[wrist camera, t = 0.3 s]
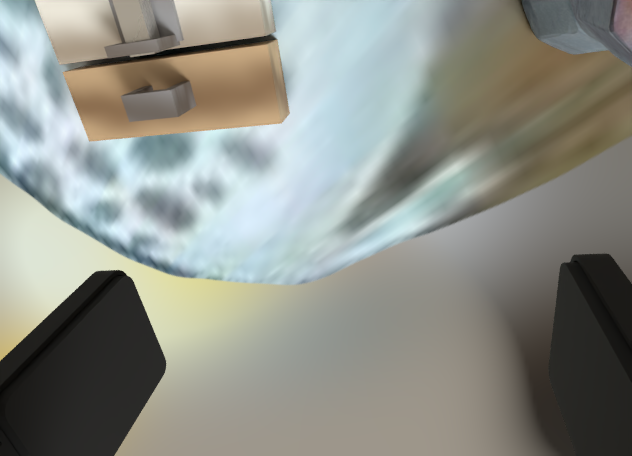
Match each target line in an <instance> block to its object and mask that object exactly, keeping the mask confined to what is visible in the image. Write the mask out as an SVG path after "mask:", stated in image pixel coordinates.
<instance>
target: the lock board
mask: <svg viewBox="0 0 632 456" xmlns="http://www.w3.org/2000/svg"><path fill="white" fill-rule="evenodd" d="M35 2H36V5H37V7H38V10H39V13H40V15H41V18H42V20H43V23H44V25H45V28H46V31H47V33H48V36H49V38H50V41H51V43H52V46H53V49H54V51H55V54H56V56H57V59H58V62H59V64H60V65H61V64H69V63H76V62H83V61H90V60H97V59H104V58H115V57H122V56H129V55H137V54H144V53H151V52H158V51H162V50H168V49H175V48H183V47H190V46H197V45H204V44H211V43H218V42H225V41H233V40H240V39H247V38H254V37H261V36H267V35H269V34H271V33H274V32H276V29H275V23H274V17H273V11H272V5H271V0H150V2H151V5H152V9H153V12H154V16H155V20H156V23H157V27H158V30H159V34H160V37H159V38H155V39H150V40H143V41H137V42H130V43H126V42H125V39H124V36H123V33H122V30H121V27H120V23H119V20H118V17H117V14H116V11H115V8H114V4H113V1H112V0H35ZM63 74H64V77H65V80H66V82H67V85H68V87H69V90H70V92H71V95H72V98H73V100H74V103H75V105H76V108H77V110H78V113H79V116H80V118H81V121H82V123H83V126H84V129H85V131H86V134H87V136H88V139H89V141H99V140H110V139H121V138H131V137H142V136H152V135H163V134H174V133H184V132H195V131H205V130H216V129H227V128H237V127H248V126H259V125H269V124H280V123H282V122H283V121H284V120H285V118H286V117H287V116H288V115H289V114H290V112H289V107H288V101H287V95H286V89H285V83H284V77H283V71H282V65H281V59H280V53H279V47H278V41H277V40H271V41H263V42H256V43H249V44H242V45H234V46H227V47H220V48H212V49H205V50H198V51H191V52H183V53H176V54H169V55H162V56H154V57H147V58H140V59H132V60H125V61H118V62H111V63H103V64H96V65H89V66H83V67H80V68H76V69H72V70H69V71H65V72H63Z"/></svg>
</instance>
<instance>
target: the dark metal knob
mask: <svg viewBox="0 0 632 456" xmlns="http://www.w3.org/2000/svg"><path fill="white" fill-rule="evenodd" d="M112 1H113V4H114V8H115V11H116V14H117V17H118V20H119V23H120V27H121V30H122V33H123V36H124V39H125V42H126V43H130V42H137V41H143V40H150V39H155V38H159V37H160V34H159V30H158V27H157V23H156V20H155V16H154V12H153V9H152V5H151V2H150V0H112ZM162 51H164V50H162ZM162 51H158V52H151V53H144V54H137V55H130V57H135V56H142V55H150V54H155V53H159V52H162Z"/></svg>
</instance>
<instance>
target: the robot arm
mask: <svg viewBox="0 0 632 456" xmlns="http://www.w3.org/2000/svg"><path fill="white" fill-rule="evenodd" d="M165 369H166V360H165V357H164V354H163V352H162V350H161V347H160V345H159V343H158V340H157V338H156V335H155V333H154V330H153V328H152V325H151V323H150V321H149V318H148V316H147V313H146V311H145V309H144V306H143V304H142V301H141V299H140V296H139V294H138V292H137V289H136V287H135V284H134V282H133V280H132V279H131V278H130V277H128V276H127V275H126V274H125V273H124V272H123V271H120V270H116V271H115V270H113V271H112V270H111V271H97V272H95V273H94V274H92V275H91V276H90V277H89V278H88V279H87V280H86V281H85V282H84V283H83V284H82V285H81V286H79V287H78V289H76V290H75V291H74V292H73V293H72V294H71V295H70V296H69V297H68V298H67V299H66V300H65V301H64V302H62V303H61V304H60V305H59V306H58V307H57V308H56V309H55V310H54V311H53V312H52V313H51V314H50V315H49V316H48V317H47V318H45V319H44V320H43V321H42V322H41V323H40V324H39V325H38V326H37V327H36V328H35V329H34V330H33V331H32V332H31V333H30V334H28V336H26V337H25V338H24V339H23V340H22V341H21V342H20V343H19V344H18V345H17V346H16V347H15V348H14V349H13V350H12V351H10V353H8V354H7V355H6V356H5V357H4V358H3V359H2V360H1V361H0V456H114V455H115V453H116V452H117V450H118V448H119V447H120V445H121V444H122V442H123V440H124V439H125V437H126V435H127V434H128V432H129V431H130V429H131V427H132V425H133V424H134V422H135V421H136V419H137V417H138V416H139V414H140V413H141V411H142V409H143V408H144V406H145V404H146V403H147V401H148V399H149V398H150V396H151V395H152V393H153V391H154V390H155V388H156V386H157V385H158V383H159V382H160V380H161V378H162V376H163V375H164V373H165ZM549 377H550V382H551V386H552V388H553V391H554V394H555V397H556V400H557V403H558V405H559V408H560V411H561V414H562V417H563V420H564V422H565V425H566V428H567V431H568V434H569V436H570V439H571V442H572V445H573V448H574V451H575V453H576V456H632V284H631V282H630V281H629V280H628V279H627V277H626V275H625V274H624V273H623V271H622V270H621V269H620V267H619V266H618V265H617V263H616V262H615V261H614V259H613V258H612V257H611V256H610V255H609V254H585V255H584V254H582V255H574V256H573V257H572V259H571V262H569V263H562V264H561V267H560V273H559V282H558V290H557V299H556V307H555V316H554V324H553V333H552V342H551V351H550V359H549Z"/></svg>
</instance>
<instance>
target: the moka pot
mask: <svg viewBox="0 0 632 456" xmlns="http://www.w3.org/2000/svg"><path fill="white" fill-rule="evenodd" d="M522 5H523V8H524V11H525V14H526V16H527V19H528V21H529V23H530V26H531V29H532V31H533V33H534V34H535V36H536V38H538V39H539V40H541V41H542V42H544V43H546V44H548V45H550V46H552V47H555V48H557V49H560V50H562V51H565V52H567V53H569V54H582V53H589V52H596V51H605V50H609V51H610V52H611V53H612V54H613V55H614V56H616V57H617V58H619V59H620V60H622V61H623V62H625V63H627V64H628V65H630V66H631V67H632V0H522Z"/></svg>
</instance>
